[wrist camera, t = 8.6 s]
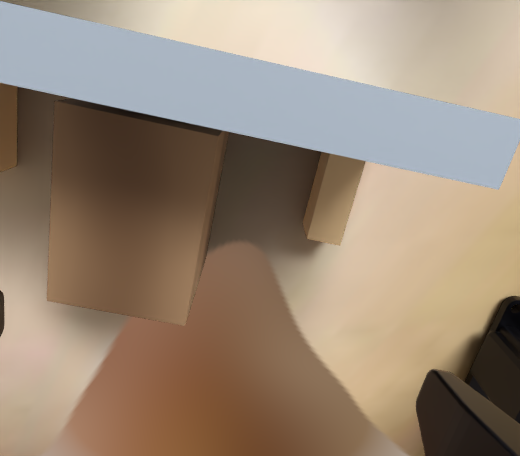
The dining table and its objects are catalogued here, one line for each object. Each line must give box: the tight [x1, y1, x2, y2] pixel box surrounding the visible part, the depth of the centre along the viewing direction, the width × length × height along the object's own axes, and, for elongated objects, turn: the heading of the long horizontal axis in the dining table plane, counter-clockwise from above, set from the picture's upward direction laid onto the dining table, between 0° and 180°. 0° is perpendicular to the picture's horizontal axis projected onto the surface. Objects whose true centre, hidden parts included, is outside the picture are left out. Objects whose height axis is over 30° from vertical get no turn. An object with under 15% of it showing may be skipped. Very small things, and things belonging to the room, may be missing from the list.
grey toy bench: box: [0, 1, 520, 245], centre depth 14 cm, size 18×6×10 cm, turn 78°
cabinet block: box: [47, 98, 229, 326], centre depth 17 cm, size 5×7×6 cm
